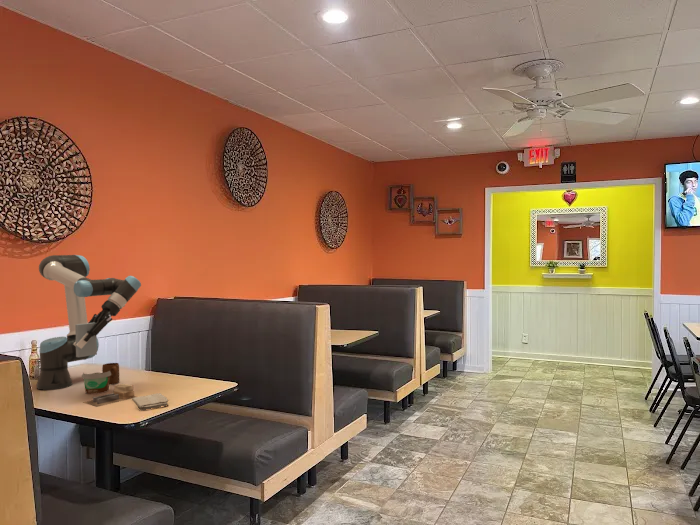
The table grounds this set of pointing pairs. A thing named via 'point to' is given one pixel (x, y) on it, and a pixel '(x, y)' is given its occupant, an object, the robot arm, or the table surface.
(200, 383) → the table surface
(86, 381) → the food container
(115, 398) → the brown rectangular board
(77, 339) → the tall panel
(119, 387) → the offcut stack
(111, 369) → the mug
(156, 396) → the washcloth
